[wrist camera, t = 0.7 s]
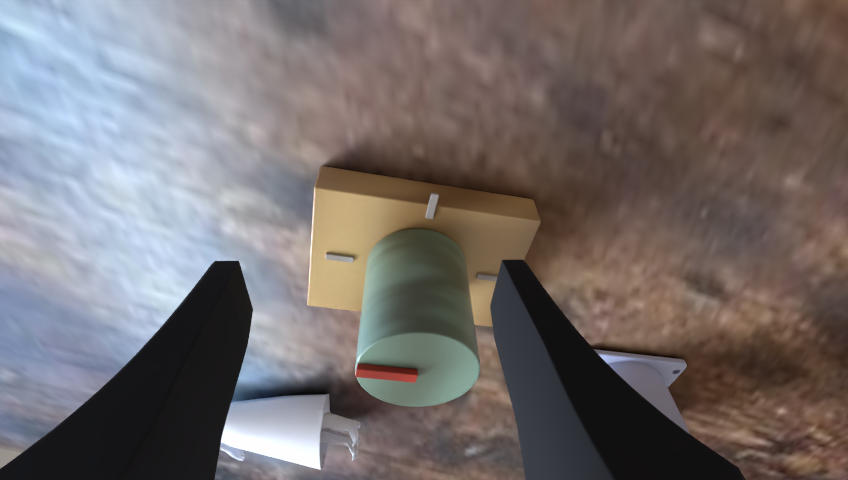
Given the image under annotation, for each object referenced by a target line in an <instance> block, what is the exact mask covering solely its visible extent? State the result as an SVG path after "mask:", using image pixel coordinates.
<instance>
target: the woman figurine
mask: <svg viewBox="0 0 848 480" xmlns="http://www.w3.org/2000/svg"><path fill="white" fill-rule="evenodd" d="M360 424H361V423H360V422H358V421H356V420H352V419H348V418H345V417H342V416H339V415H336V414H333V413H330V403H329V394H315V395H289V396H278V397H270V398H261V399H253V400H245V401H236V402H231V404H230V408H229V411H228V415H227V418H226V422H225V426H224V430H223V434H222V439H221V445H220V450H222V451H224V452H227V453H228V454H229V455H230V456H231V457H233V458H235V459H237V460H241V461H244V460H243V459H245V457H243V456H245V455H244V454H242V453H245V452H242V451H240V450H238V449H236V448H240V449H244V450H247V451H251V452H255V453H259V454H263V455H266V456H270V457H274V458H278V459H282V460H285V461H289V462H293V463H297V464H301V465H305V466H309V467H313V468H316V469H320V470H321V469H322V468H323V464H324V460H325V456H326V451H327V444H328V443H329V444H338V445H346V446H348V447H349V449H350V451H351V453H352V455H353V457H352V460H354V459H356V458H357V454H358V445H357V444H359V443H360V438H358V430H357V428H360ZM329 428H330V429H329ZM331 429H338V430H345V431H348V433H349V435H347V434H344V433H341V432H338V431H334V430H331ZM226 444H227V445H226ZM228 445H230V446H233V447H229V446H228ZM234 447H236V448H234ZM241 458H243V459H241Z"/></svg>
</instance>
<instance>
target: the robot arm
mask: <svg viewBox="0 0 848 480" xmlns="http://www.w3.org/2000/svg"><path fill="white" fill-rule="evenodd" d="M490 310H491V317H492V325H493V331H494V338H495V342H496V346H497V350H498V354H499V358H500V361H501V365H502V369H503V372H504V376H505V380H506V384H507V387H508V391H509V395H510V398H511V402H512V406H513V410H514V414H515V418H516V423H517V428H518V434H519V440H520V446H521V452H522V458H523V465H524V472H525V479H526V480H746V479H745V478H744V476H743V475H742V473H741V471H740V470H739V468H738V467H736V466H735V465H733V464H732V463H731V462H729V461H728V460H726V459H725V458H723V457H722V456H720V455H719V454H717V453H716V452H714V451H713V450H712V449H710V448H709V447H707V446H706V445H704V444H703V443H701V442H700V441H698V440H697V439H696V438H694V437H693V436H691V434H690V432H689V430H688V428H687V426H686V424H685V422H684V420H683V418H682V416H681V414H680V412H679V410H678V408H677V406H676V404H675V402H674V400H673V398H672V396H671V394H670V392H669V390H668V387H669V386H670V385H671V384H672V383H673V382H674V380H675V379H676V378H677V377H678V376H679V375H680V374H681V373H682V372H683V371H684V370H685V368H686V367H687V364H686V362H685V361H684V360H682V359H675V358H666V357H657V356H649V355H640V354H631V353H622V352H613V351H604V350H595V349H593V348H592V347H591V346H590V345H589V343H588V342H587V341H586V340H585V339H584V338H583V337H582V336H581V334H580V333H579V332H578V331H577V330H576V329H575V327H574V326H573V325H572V324H571V323H570V321H569V320H568V319H567V318H566V316H565V315H564V314H563V313H562V311H561V310H560V309H559V307H558V306H557V305H556V304H555V302H554V301H553V300H552V298H551V297H550V296H549V294H548V293H547V292H546V290H545V289H544V288H543V286H542V285H541V283H540V282H539V281H538V279H537V278H536V276H535V275H534V274H533V272H532V271H531V269H530V268H529V266H528V265H527V264H526V262H525V261H524V260H502V262H501V265H500V269H499V273H498V277H497V281H496V285H495V288H494V292H493V296H492V300H491V304H490ZM252 312H253V308H252V305H251V301H250V298H249V294H248V291H247V288H246V284H245V281H244V277H243V274H242V270H241V267H240V263H239V261H215V262H214V263H213V264H212V265H211V266H210V267H209V268H208V270H207V271H206V272H205V274H204V275H203V276H202V278H201V279H200V280H199V282H198V283H197V284H196V285H195V287H194V288H193V289H192V290H191V292H190V293H189V294H188V295H187V297H186V298H185V299H184V300H183V302H182V303H181V304H180V305H179V307H178V308H177V309H176V310H175V311H174V313H173V314H172V315H171V316H170V317H169V318H168V320H167V321H166V322H165V323H164V324H163V326H162V327H161V328H160V329H159V330H158V331H157V332H156V333H155V334H154V336H153V337H152V338H151V339H150V340H149V341H148V342H147V343H146V344H145V345H144V346H143V347H142V349H141V350H140V351H139V352H138V353H137V354H136V355H135V356H134V357H133V358H132V359H131V360H130V361H129V362H128V363H127V364H126V365H125V366H124V367H123V368H122V369H121V370H120V371H119V372H118V373H117V374H116V375H115V376H114V377H113V378H112V379H111V380H110V381H109V382H107V383H106V384H105V385H104V386H103V387H102V388H101V389H100V390H99V391H98V392H97V393H95V394H94V395H93V396H92V397H91V398H90V399H89V400H87V401H86V402H85V403H84V404H83V405H82V406H81V407H79V408H78V409H77V410H76V411H75V412H74V413H72V414H71V415H70V416H69V417H68V418H66V419H65V420H64V421H63V422H62V423H60V424H59V425H58V426H57V427H55V428H54V429H53V430H52V431H50V432H49V433H48V434H46V435H45V436H44V437H42V438H41V439H40V440H38V441H37V442H36V443H34V444H33V445H32V446H31V447H29V448H28V449H27V450H25V451H24V452H23V453H21V454H20V455H19V456H17V457H16V458H15V459H13V460H12V461H11V462H9V463H8V464H7V465H5V466H4V467H2V468H1V469H0V480H214V478H215V472H216V467H217V461H218V456H219V450H220V445H221V439H222V434H223V430H224V426H225V422H226V418H227V415H228V411H229V408H230V404H231V401H232V398H233V394H234V391H235V387H236V384H237V380H238V377H239V373H240V370H241V366H242V363H243V359H244V356H245V352H246V348H247V345H248V339H249V333H250V326H251V319H252Z"/></svg>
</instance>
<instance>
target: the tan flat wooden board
mask: <svg viewBox="0 0 848 480" xmlns="http://www.w3.org/2000/svg"><path fill="white" fill-rule="evenodd" d="M540 223H541V220H540V217H539V214H538V212H537V209H536V206H535V203H534V201H533V200H532V199H527V198H521V197H515V196H508V195H502V194H496V193H489V192H483V191H477V190H471V189H464V188H458V187H452V186H445V185H439V184H433V183H426V182H420V181H414V180H407V179H401V178H395V177H388V176H382V175H376V174H369V173H363V172H357V171H350V170H344V169H338V168H332V167H325V166H321V167H320V170H319V173H318V176H317V180H316V183H315V186H314V198H313V216H312V233H311V250H310V267H309V284H308V301H307V304H308V305H310V306H318V307H327V308H335V309H344V310H353V311H361V310H362V301H363V292H364V283H365V273H366V264H367V259H368V256H369V254H370V252H371V250H372V249H373V247H374V246H375V245H376V244H377V243H378V242H379V241H380V240H382V239H383V238H385V237H386V236H388V235H390V234H392V233H395V232H398V231H402V230H407V229H426V230H432V231H435V232H438V233H441V234H443V235H445V236H447V237H448V238H450V239H451V240H453V241H454V242H455V243H456V244H457V245H458V246H459V247H460V249H461V250H462V252H463V254H464V257H465V260H466V267H467V274H468V282H469V289H470V296H471V303H472V310H473V317H474V325H482V326H491V327H493V325H492V317H491V310H490V304H491V300H492V296H493V292H494V288H495V285H496V281H497V277H498V273H499V269H500V265H501V262H502V260H524V259H525V257H526V255H527V252H528V250H529V248H530V246H531V243H532V241H533V239H534V237H535V234H536V232H537V230H538V228H539V225H540Z"/></svg>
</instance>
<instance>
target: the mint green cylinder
mask: <svg viewBox="0 0 848 480" xmlns="http://www.w3.org/2000/svg"><path fill="white" fill-rule="evenodd" d="M479 373H480V361H479V353H478V346H477V339H476V332H475V325H474V317H473V310H472V303H471V296H470V289H469V282H468V274H467V267H466V260H465V257H464V254H463V252H462V250H461V249H460V247H459V246H458V245H457V244H456V243H455V242H454V241H453V240H451V239H450V238H448V237H447V236H445V235H443V234H441V233H438V232H435V231H432V230H426V229H407V230H402V231H398V232H395V233H392V234H390V235H388V236H386V237H385V238H383V239H382V240H380V241H379V242H378V243H377V244H376V245H375V246H374V247H373V249H372V250H371V252H370V254H369V256H368V259H367V264H366V273H365V283H364V292H363V301H362V310H361V319H360V328H359V337H358V346H357V355H356V364H355V377H357V380H358V382H359V383H360V385H361V386H362V387H363V388H364V390H366V391H367V392H368V393H369V394H371V395H372V396H374V397H376V398H378V399H380V400H382V401H385V402H388V403H391V404H395V405H401V406H410V407H423V406H432V405H437V404H441V403H445V402H448V401H451V400H453V399H455V398H457V397H459V396H461V395H463V394H464V393H466V392H467V391H468V390H469V389H470V388H471V387H472V386H473V385H474V384H475V382H476V381H477V379H478V376H479Z"/></svg>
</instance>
